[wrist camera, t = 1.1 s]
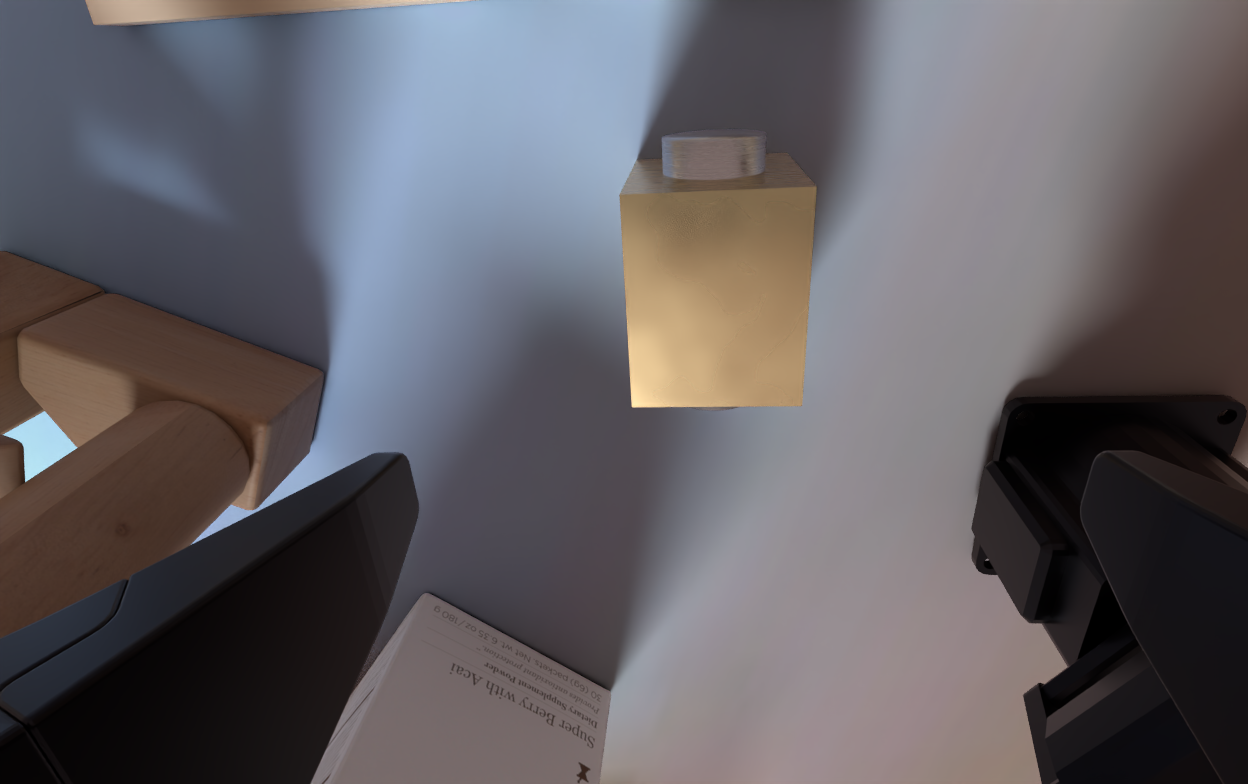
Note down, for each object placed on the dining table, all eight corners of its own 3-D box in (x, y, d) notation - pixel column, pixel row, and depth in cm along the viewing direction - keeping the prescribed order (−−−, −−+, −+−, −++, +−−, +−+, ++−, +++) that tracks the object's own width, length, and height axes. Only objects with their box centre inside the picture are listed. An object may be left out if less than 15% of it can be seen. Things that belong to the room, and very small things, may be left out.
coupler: (635, 127, 18) (617, 154, 14) (788, 120, 18) (819, 145, 13) (645, 354, 21) (633, 436, 17) (777, 352, 21) (799, 435, 16)
